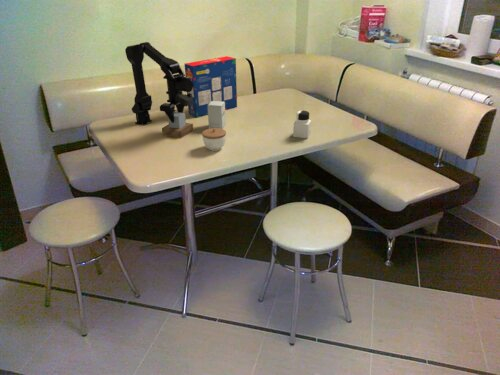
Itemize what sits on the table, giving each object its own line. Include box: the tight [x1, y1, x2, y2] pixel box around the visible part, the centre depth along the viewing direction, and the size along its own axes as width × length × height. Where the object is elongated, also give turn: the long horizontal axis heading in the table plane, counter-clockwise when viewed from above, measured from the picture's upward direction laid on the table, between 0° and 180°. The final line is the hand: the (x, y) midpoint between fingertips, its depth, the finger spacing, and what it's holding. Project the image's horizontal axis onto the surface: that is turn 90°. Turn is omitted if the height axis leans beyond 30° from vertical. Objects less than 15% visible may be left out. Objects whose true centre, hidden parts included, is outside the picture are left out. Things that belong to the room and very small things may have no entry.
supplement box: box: [207, 101, 226, 130], centre depth 210 cm, size 7×7×13 cm
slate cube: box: [167, 111, 187, 129], centre depth 203 cm, size 6×6×6 cm
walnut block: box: [161, 122, 194, 139], centre depth 206 cm, size 11×11×4 cm
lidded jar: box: [201, 128, 227, 152], centre depth 187 cm, size 11×11×9 cm
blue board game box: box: [184, 55, 238, 119], centre depth 229 cm, size 28×8×28 cm, turn 129°
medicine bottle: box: [292, 110, 312, 139], centre depth 198 cm, size 7×7×12 cm
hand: (176, 120), depth 204 cm, fingers open, 7 cm apart
